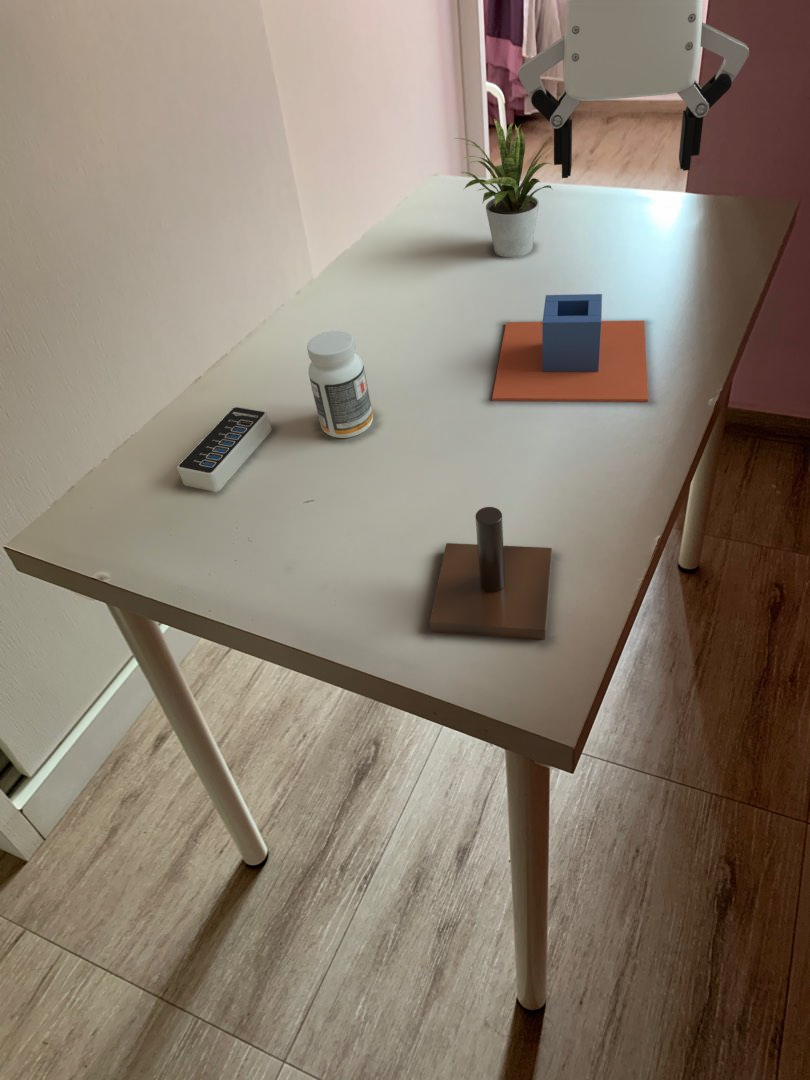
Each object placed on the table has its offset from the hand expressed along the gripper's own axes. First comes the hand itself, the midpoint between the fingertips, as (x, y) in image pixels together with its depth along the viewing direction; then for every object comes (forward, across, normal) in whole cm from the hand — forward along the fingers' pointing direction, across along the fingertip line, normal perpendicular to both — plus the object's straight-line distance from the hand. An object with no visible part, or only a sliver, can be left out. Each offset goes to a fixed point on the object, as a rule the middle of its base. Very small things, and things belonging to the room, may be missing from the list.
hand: (624, 168), depth 69 cm
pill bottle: (+23, +27, +5) cm, 36 cm away
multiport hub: (+23, +39, +11) cm, 46 cm away
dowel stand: (+23, +9, +28) cm, 38 cm away
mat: (+23, +4, -8) cm, 25 cm away
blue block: (+22, +4, -8) cm, 24 cm away
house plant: (+22, +15, -37) cm, 46 cm away
